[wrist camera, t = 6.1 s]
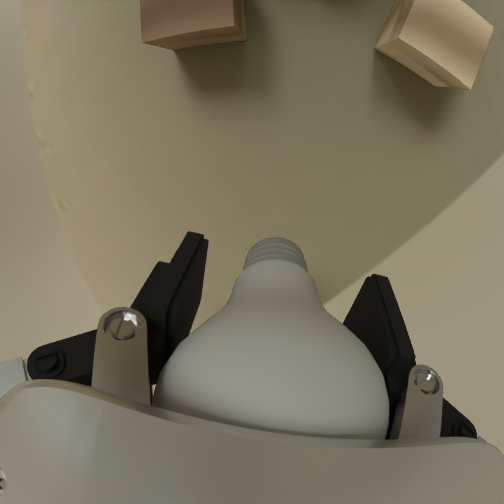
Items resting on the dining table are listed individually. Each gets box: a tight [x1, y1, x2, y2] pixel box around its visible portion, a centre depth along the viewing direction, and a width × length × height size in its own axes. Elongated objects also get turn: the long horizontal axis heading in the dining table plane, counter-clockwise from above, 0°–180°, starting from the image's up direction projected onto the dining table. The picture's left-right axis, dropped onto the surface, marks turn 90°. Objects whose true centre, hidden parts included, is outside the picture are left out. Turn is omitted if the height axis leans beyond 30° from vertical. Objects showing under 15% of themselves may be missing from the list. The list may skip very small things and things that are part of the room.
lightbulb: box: [152, 238, 389, 440], centre depth 9 cm, size 6×6×11 cm
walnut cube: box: [140, 0, 247, 50], centre depth 13 cm, size 5×5×5 cm
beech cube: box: [374, 0, 494, 90], centre depth 12 cm, size 5×5×5 cm
